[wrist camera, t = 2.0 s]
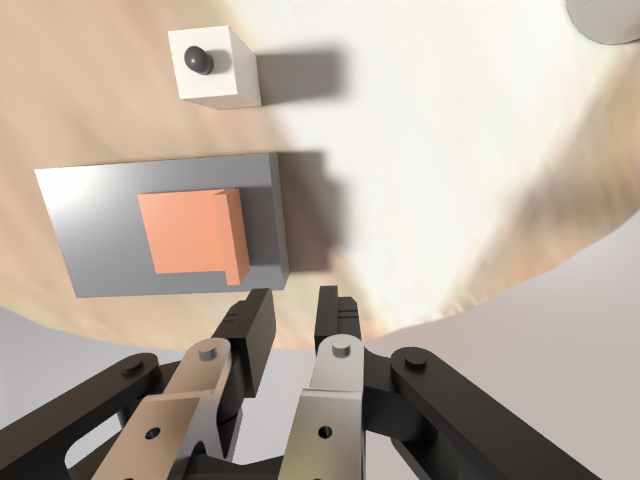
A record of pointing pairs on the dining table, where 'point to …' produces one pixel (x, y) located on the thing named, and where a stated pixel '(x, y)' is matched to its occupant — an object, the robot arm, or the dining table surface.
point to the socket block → (129, 230)
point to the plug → (215, 68)
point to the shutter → (196, 232)
